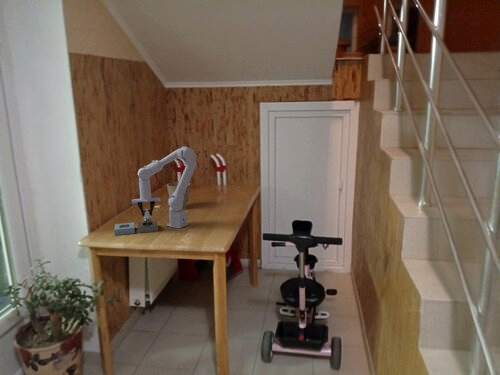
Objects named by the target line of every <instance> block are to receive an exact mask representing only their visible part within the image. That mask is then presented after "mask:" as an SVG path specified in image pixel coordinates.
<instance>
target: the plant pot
mask: <svg viewBox="0 0 500 375" xmlns="http://www.w3.org/2000/svg"><path fill="white" fill-rule="evenodd" d="M178 184H179V182H178V181H177V182H176V181H175V182H170V183H167V184H166V187H167V193H168V197H169V198H170V197H171V196H172V194H173V193H174V192H175V191H176V188H177V186H178ZM190 192H191V183H190V182H189V184H188V187H187V189H186V191H185V194H184V200H183V207H182V210H185V209H186V208H187V204H188V202H189V198H190Z"/></svg>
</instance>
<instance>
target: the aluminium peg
mask: <svg viewBox="0 0 500 375" xmlns="http://www.w3.org/2000/svg"><path fill="white" fill-rule="evenodd" d="M143 213H144V216H143V222H144V223H150V222H151V221H152V216H151V214H150V208H143Z"/></svg>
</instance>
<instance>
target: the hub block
mask: <svg viewBox="0 0 500 375" xmlns="http://www.w3.org/2000/svg"><path fill="white" fill-rule="evenodd" d="M135 226H136V225H135V222H124V223H115V224H114V229H113V230H114V236H121V235H122V236H123V235H124V236H125V235H133V234H135V233H136V229H135V228H136V227H135Z"/></svg>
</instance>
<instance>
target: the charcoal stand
mask: <svg viewBox="0 0 500 375" xmlns="http://www.w3.org/2000/svg"><path fill="white" fill-rule="evenodd" d="M137 228H138V229H137V230H138V233H139V234H140V233H141V234H143V233H151V232H158V231H159V226H158V220H151V222H150V223H144V221H138V222H137Z"/></svg>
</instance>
